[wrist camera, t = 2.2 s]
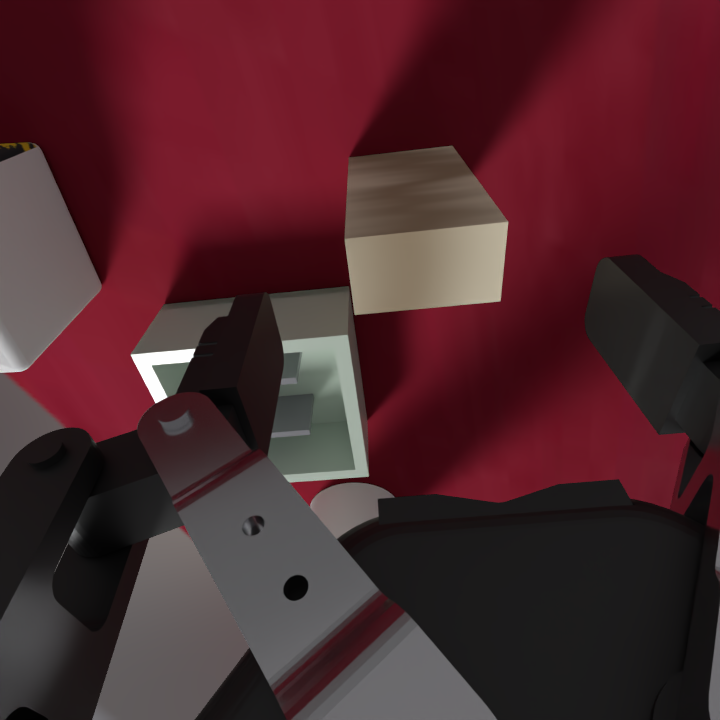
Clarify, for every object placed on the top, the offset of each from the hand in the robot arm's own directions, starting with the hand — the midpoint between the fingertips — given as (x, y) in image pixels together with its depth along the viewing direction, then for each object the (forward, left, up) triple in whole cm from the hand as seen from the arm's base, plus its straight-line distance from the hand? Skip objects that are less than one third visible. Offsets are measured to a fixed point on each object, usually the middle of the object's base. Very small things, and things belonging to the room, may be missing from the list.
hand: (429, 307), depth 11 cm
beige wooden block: (0, 0, -11) cm, 11 cm away
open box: (+8, +10, -11) cm, 17 cm away
